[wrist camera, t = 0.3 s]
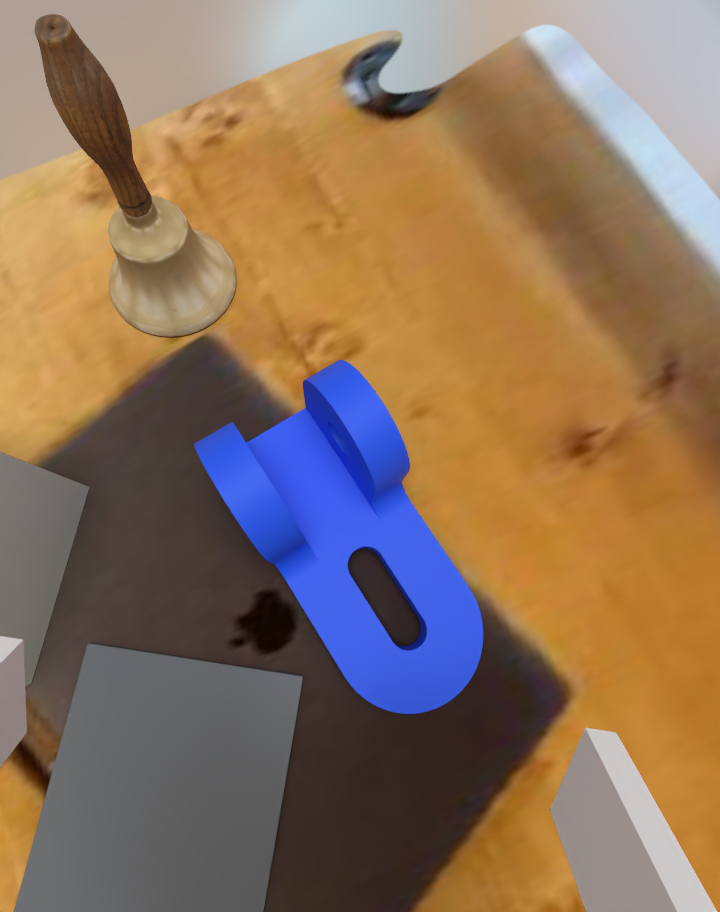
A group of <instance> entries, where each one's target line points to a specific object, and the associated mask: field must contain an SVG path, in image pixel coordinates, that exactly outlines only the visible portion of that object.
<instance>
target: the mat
mask: <svg viewBox="0 0 720 912" xmlns="http://www.w3.org/2000/svg"><path fill="white" fill-rule="evenodd" d="M302 681H303V676H302V675H296V674H289V673H283V672H276V671H270V670H263V669H257V668H250V667H244V666H237V665H231V664H225V663H218V662H212V661H205V660H199V659H192V658H186V657H179V656H173V655H166V654H160V653H153V652H147V651H141V650H134V649H128V648H121V647H115V646H108V645H102V644H95V643H88V644H87V648H86V652H85V655H84V659H83V663H82V666H81V670H80V674H79V677H78V681H77V684H76V688H75V692H74V695H73V699H72V703H71V706H70V710H69V713H68V717H67V721H66V724H65V728H64V732H63V735H62V739H61V743H60V746H59V750H58V753H57V757H56V761H55V764H54V768H53V772H52V775H51V779H50V782H49V786H48V790H47V793H46V797H45V801H44V804H43V808H42V812H41V815H40V819H39V822H38V826H37V830H36V833H35V837H34V841H33V844H32V848H31V851H30V855H29V859H28V862H27V866H26V870H25V873H24V877H23V881H22V884H21V888H20V891H19V895H18V899H17V902H16V906H15V910H14V912H263V911H264V905H265V899H266V893H267V888H268V882H269V876H270V870H271V864H272V858H273V852H274V846H275V840H276V834H277V829H278V823H279V817H280V811H281V805H282V799H283V793H284V787H285V781H286V775H287V769H288V764H289V758H290V752H291V746H292V740H293V734H294V728H295V722H296V716H297V710H298V705H299V699H300V693H301V687H302Z"/></svg>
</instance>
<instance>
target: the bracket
mask: <svg viewBox="0 0 720 912" xmlns="http://www.w3.org/2000/svg"><path fill="white" fill-rule="evenodd" d="M303 390H304V397H305V405H306V408H305V409H303V410H301V411H300V412H298V413H296V414H295V415H293V416H291V417H289V418H288V419H286V420H284V421H283V422H281V423H279V424H278V425H276V426H274V427H273V428H271V429H269V430H267V431H266V432H264V433H262V434H261V435H259V436H257V437H256V438H254V439H252V440H251V441H249V442H247V443H246V442H245V441H244V439H243V437H242V436H241V434H240V433H239V431H238V430H237V428H236V427H235V425H234V423H233V422H231V423H229V424H228V425H226V426H224V427H223V428H221V429H219V430H217V431H216V432H214V433H212V434H210V435H209V436H207V437H205V438H204V439H202V440H200V441H198V442H197V443H195V444H194V445H195V448H196V451H197V453H198V455H199V457H200V459H201V461H202V463H203V465H204V467H205V469H206V471H207V472H208V474H209V476H210V478H211V479H212V481H213V483H214V484H215V486H216V488H217V489H218V491H219V493H220V494H221V496H222V498H223V499H224V501H225V503H226V504H227V506H228V507H229V509H230V510H231V512H232V513H233V515H234V517H235V518H236V520H237V521H238V523H239V524H240V526H241V527H242V529H243V530H244V532H245V533H246V534H247V536H248V537H249V539H250V540H251V542H252V543H253V544H254V546H255V547H256V548H257V550H258V551H259V552H260V553H261V555H262V556H263V557H264V558H265V559H266V560H267V561H268V562H270V563H273V564H275V566H276V567H277V568H278V569H279V571H280V572H281V574H282V575H283V577H284V578H285V580H286V581H287V583H288V585H289V586H290V588H291V590H292V591H293V593H294V595H295V596H296V598H297V599H298V601H299V603H300V604H301V606H302V608H303V609H304V611H305V613H306V614H307V616H308V618H309V619H310V621H311V622H312V624H313V626H314V627H315V629H316V631H317V632H318V634H319V636H320V637H321V639H322V641H323V642H324V644H325V645H326V647H327V649H328V650H329V652H330V654H331V655H332V657H333V659H334V660H335V662H336V663H337V665H338V667H339V668H340V670H341V672H342V673H343V675H344V677H345V678H346V680H347V681H348V682H349V684H350V685H351V686H352V687H353V688H354V690H355V691H356V692H357V693H358V694H360V695H361V696H362V697H363V698H364V699H366V700H367V701H368V702H370V703H372V704H374V705H375V706H377V707H380V708H382V709H384V710H388V711H391V712H396V713H403V714H415V713H422V712H427V711H430V710H433V709H436V708H438V707H440V706H442V705H444V704H446V703H447V702H449V701H450V700H452V699H453V698H454V697H455V696H457V695H458V694H459V693H460V692H461V691H462V690H463V688H464V687H465V686H466V685H467V684H468V682H469V681H470V679H471V677H472V676H473V674H474V672H475V670H476V668H477V665H478V662H479V659H480V656H481V652H482V645H483V625H482V618H481V614H480V610H479V607H478V604H477V602H476V600H475V597H474V595H473V593H472V592H471V590H470V589H469V587H468V585H467V584H466V582H465V581H464V580H463V578H462V577H461V575H460V574H459V572H458V571H457V569H456V568H455V566H454V565H453V563H452V562H451V560H450V559H449V557H448V556H447V555H446V553H445V552H444V550H443V549H442V547H441V546H440V544H439V543H438V541H437V540H436V538H435V537H434V535H433V534H432V533H431V531H430V530H429V528H428V527H427V525H426V524H425V522H424V521H423V519H422V518H421V516H420V515H419V513H418V512H417V510H416V509H415V508H414V506H413V505H412V503H411V502H410V500H409V498H408V496H407V495H406V493H405V491H404V488H403V485H402V480H403V479H404V477H405V476H406V475H407V473H408V472H409V468H410V463H409V458H408V454H407V450H406V447H405V445H404V442H403V440H402V437H401V435H400V433H399V431H398V429H397V427H396V425H395V423H394V421H393V419H392V417H391V415H390V414H389V412H388V410H387V409H386V407H385V405H384V404H383V402H382V401H381V399H380V398H379V396H378V395H377V393H376V392H375V391H374V389H373V388H372V386H371V385H370V384H369V383H368V381H367V380H366V379H365V378H364V377H363V376H362V375H361V373H360V372H359V371H358V370H357V369H355V368H354V367H353V366H352V365H351V364H349V363H348V362H346V361H344V360H339V361H337V362H335V363H333V364H332V365H330V366H328V367H326V368H325V369H323V370H321V371H319V372H318V373H316V374H314V375H313V376H311V377H309V378H307V379H306V380H304V381H303ZM358 549H369V550H372V551H373V552H375V553H376V554H377V556H378V557H379V559H380V560H381V562H382V563H383V565H384V566H385V568H386V569H387V571H388V572H389V574H390V575H391V577H392V578H393V580H394V582H395V583H396V585H397V586H398V588H399V589H400V591H401V592H402V594H403V595H404V597H405V598H406V600H407V601H408V603H409V605H410V606H411V608H412V609H413V611H414V612H415V614H416V615H417V617H418V618H419V621H420V624H421V631H420V635H419V637H418V639H417V640H416V641H415V642H414V643H413V644H411V645H408V646H399V645H396V644H394V643H393V642H392V640H391V638H390V637H389V635H388V634H387V632H386V631H385V629H384V627H383V626H382V624H381V623H380V621H379V620H378V618H377V616H376V615H375V613H374V612H373V610H372V609H371V607H370V605H369V604H368V602H367V601H366V599H365V598H364V596H363V594H362V593H361V591H360V590H359V588H358V587H357V585H356V583H355V582H354V580H353V579H352V577H351V575H350V574H349V571H348V560H349V557H350V555H351V554H352V553H353V552H354V551H356V550H358Z"/></svg>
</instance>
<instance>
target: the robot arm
mask: <svg viewBox="0 0 720 912" xmlns="http://www.w3.org/2000/svg"><path fill="white" fill-rule="evenodd" d="M26 733H27V723H26V696H25V669H24V642H23V639H16V638H10V637H3V636H0V767H1V766H2V764H3V763H4V762H5V760H6V759H7V758H8V756H9V755H10V754H11V753H12V751H13V750H14V749H15V747H16V746H17V745H18V743H19V742H20V741H21V739H22V738H23V737H24V735H25V734H26ZM550 811H551V814H552V817H553V820H554V823H555V826H556V828H557V831H558V834H559V837H560V840H561V843H562V845H563V848H564V851H565V854H566V857H567V859H568V862H569V865H570V868H571V871H572V874H573V876H574V879H575V882H576V885H577V888H578V891H579V893H580V896H581V899H582V902H583V905H584V908H585V910H586V912H717V911H716V909H715V907H714V905H713V904H712V902H711V900H710V898H709V896H708V895H707V893H706V891H705V889H704V888H703V886H702V884H701V882H700V880H699V879H698V877H697V875H696V873H695V872H694V870H693V868H692V866H691V864H690V863H689V861H688V859H687V857H686V856H685V854H684V852H683V850H682V849H681V847H680V845H679V843H678V841H677V840H676V838H675V836H674V834H673V833H672V831H671V829H670V827H669V825H668V824H667V822H666V820H665V818H664V817H663V815H662V813H661V811H660V809H659V808H658V806H657V804H656V802H655V801H654V799H653V797H652V795H651V793H650V792H649V790H648V788H647V786H646V785H645V783H644V781H643V779H642V777H641V776H640V774H639V772H638V770H637V769H636V767H635V765H634V763H633V761H632V760H631V758H630V756H629V754H628V753H627V751H626V749H625V747H624V746H623V744H622V742H621V740H620V738H619V737H618V735H617V733H615V732H609V731H603V730H596V729H590V728H585V730H584V732H583V734H582V737H581V739H580V741H579V744H578V746H577V748H576V751H575V753H574V755H573V757H572V760H571V762H570V764H569V767H568V769H567V771H566V774H565V776H564V778H563V781H562V783H561V785H560V787H559V790H558V792H557V794H556V797H555V799H554V801H553V804H552V806H551V808H550Z"/></svg>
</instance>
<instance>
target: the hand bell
mask: <svg viewBox="0 0 720 912" xmlns="http://www.w3.org/2000/svg"><path fill="white" fill-rule="evenodd" d="M35 34H36V37H37V39H38V42H39V46H40V50H41V55H42V61H43V66H44V72H45V77H46V82H47V86H48V89H49V92H50V95H51V98H52V100H53V103H54V105H55V107H56V109H57V111H58V112H59V114H60V116H61V118H62V120H63V122H64V123H65V125H66V127H67V128H68V130H69V131H70V133H71V135H72V136H73V137H74V139H75V140H76V141H77V143H78V144H79V145H80V147H81V148H82V149H83V150H84V151H85V152H86V153H87V155H88V156H89V157H91V158H92V159H93V160H94V161H95V162H96V163H97V164H98V165H99V166H100V168H101V169H102V170H103V172H104V173H105V175H106V177H107V179H108V181H109V183H110V185H111V188H112V190H113V192H114V194H115V196H116V198H117V200H118V203H119V206H120V207H119V208H118V209H117V210H116V211H115V212H114V214H113V215H112V217H111V220H110V223H109V229H108V233H109V239H110V242H111V244H112V246H113V249H114V251H115V254H116V258H115V260H114V262H113V264H112V267H111V271H110V277H109V289H110V295H111V299H112V301H113V304H114V306H115V308H116V309H117V311H118V312H119V314H120V315H121V316H122V317H123V318H124V319H125V320H126V321H127V322H128V323H130V324H131V325H132V326H134V327H135V328H137V329H139V330H141V331H143V332H146V333H149V334H153V335H157V336H165V337H174V336H184V335H188V334H191V333H195V332H198V331H200V330H202V329H204V328H206V327H207V326H209V325H211V324H212V323H214V322H215V321H216V320H217V319H218V318H219V317H220V316H221V315H222V314H223V313H224V312H225V311H226V309H227V308H228V306H229V305H230V303H231V301H232V299H233V296H234V293H235V289H236V271H235V267H234V264H233V261H232V259H231V257H230V255H229V254H228V252H227V251H226V250H225V249H224V247H223V246H222V245H221V244H220V243H219V242H218V241H216V240H215V239H214V238H212V237H211V236H209V235H208V234H206V233H204V232H202V231H199V230H197V229H193V228H191V226H190V224H189V223H188V221H187V219H186V217H185V215H184V214H183V212H182V211H181V210H180V209H179V208H178V207H177V206H176V205H175V204H173V203H172V202H170V201H168V200H166V199H163V198H160V197H156V196H151V195H150V193H149V191H148V190H147V188H146V185H145V183H144V181H143V180H142V178H141V176H140V174H139V172H138V170H137V167H136V165H135V162H134V160H133V154H132V141H131V133H130V129H129V125H128V121H127V117H126V115H125V111H124V109H123V106H122V103H121V100H120V98H119V96H118V93H117V91H116V89H115V86H114V84H113V83H112V81H111V79H110V78H109V76H108V74H107V73H106V71H105V70H104V68H103V67H102V66H101V64H100V63H99V61H98V60H97V59H96V58H95V57H94V55H93V54H92V53H91V52H90V51H89V49H88V48H87V47H86V46H85V45H84V43H83V42H82V41H81V39H80V38H79V36H78V35H77V34H76V32H75V31H74V29H73V28H72V26H71V25H70V23H69V22H68V21H67V20H66V19H65V18H64V17H63V16H61V15H54V14H51V15H46V16H42V17H40V18H39V19H38V20H37V21H36V25H35Z"/></svg>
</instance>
